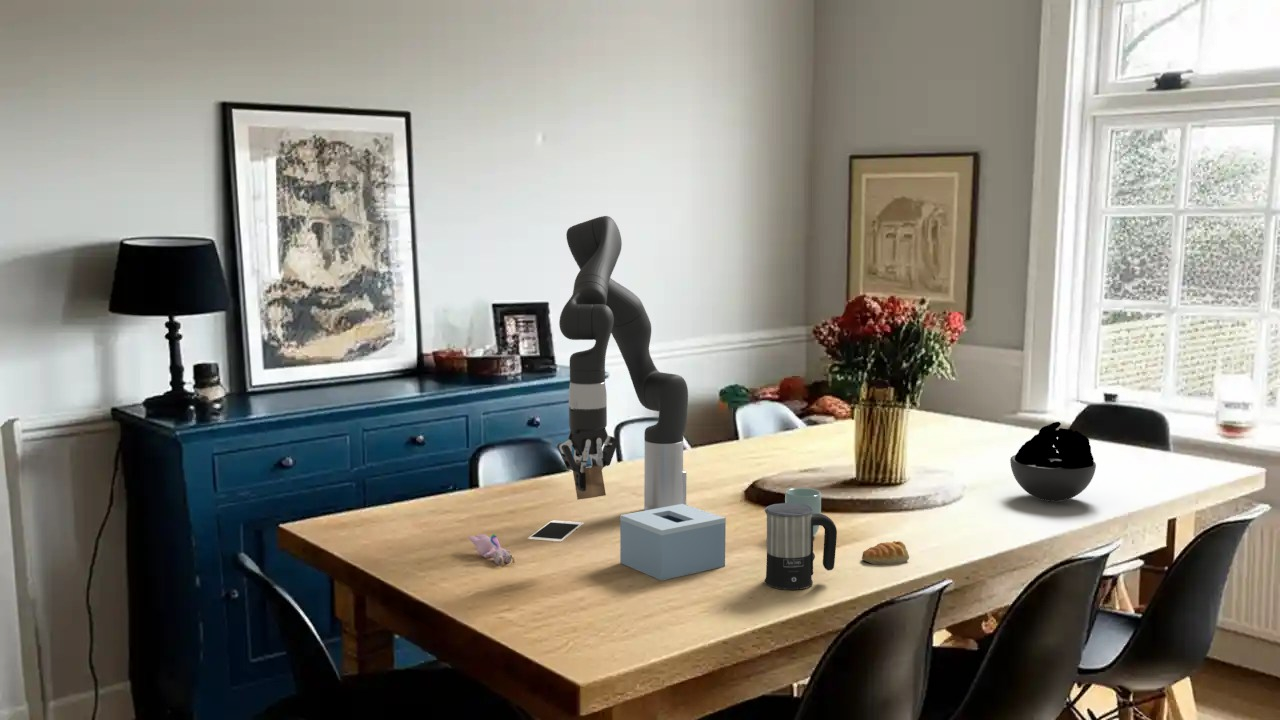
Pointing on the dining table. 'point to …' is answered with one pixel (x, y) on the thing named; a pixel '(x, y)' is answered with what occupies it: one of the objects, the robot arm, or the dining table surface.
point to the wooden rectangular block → (592, 483)
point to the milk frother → (795, 545)
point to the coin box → (672, 541)
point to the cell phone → (555, 531)
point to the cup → (805, 500)
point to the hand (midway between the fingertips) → (588, 488)
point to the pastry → (886, 553)
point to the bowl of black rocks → (1054, 464)
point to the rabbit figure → (491, 549)
